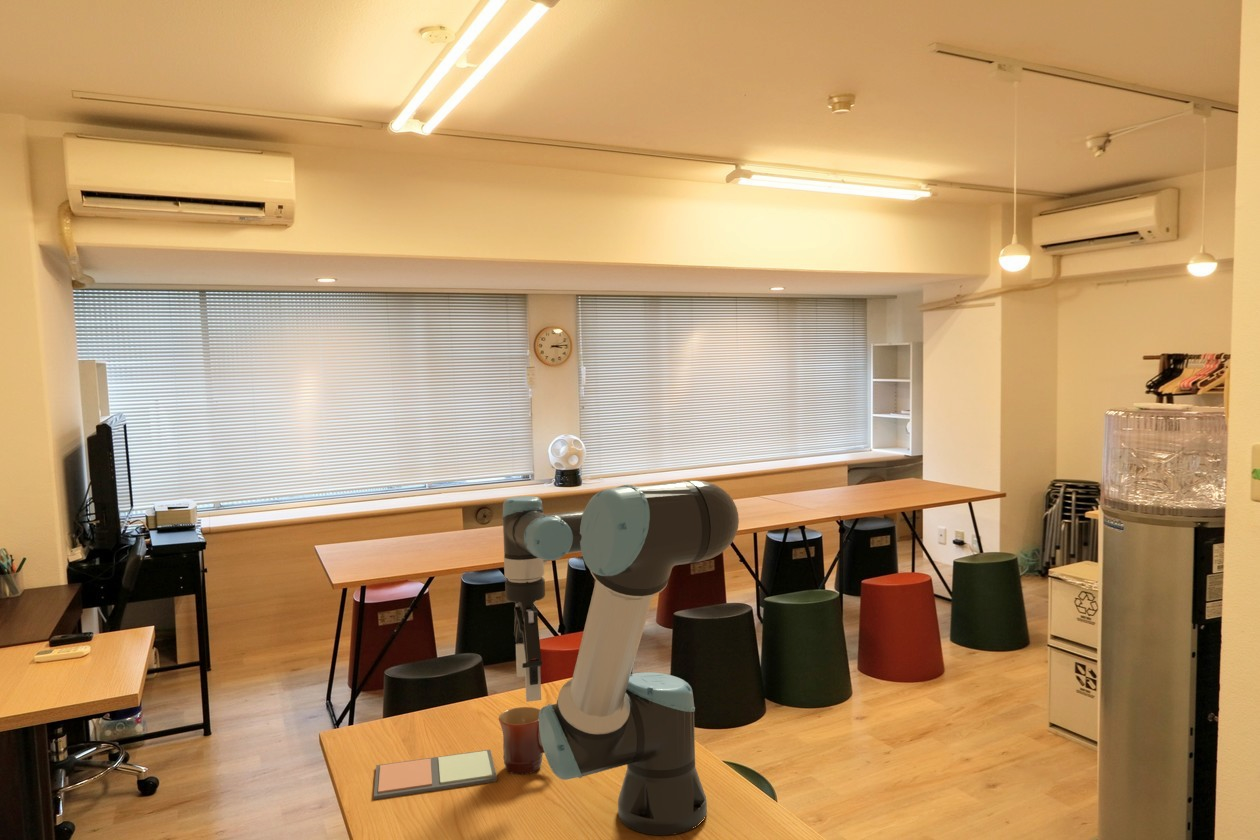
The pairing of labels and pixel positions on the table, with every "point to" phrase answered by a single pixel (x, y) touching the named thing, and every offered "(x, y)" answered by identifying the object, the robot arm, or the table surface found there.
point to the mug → (521, 740)
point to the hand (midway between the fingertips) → (528, 687)
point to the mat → (434, 774)
